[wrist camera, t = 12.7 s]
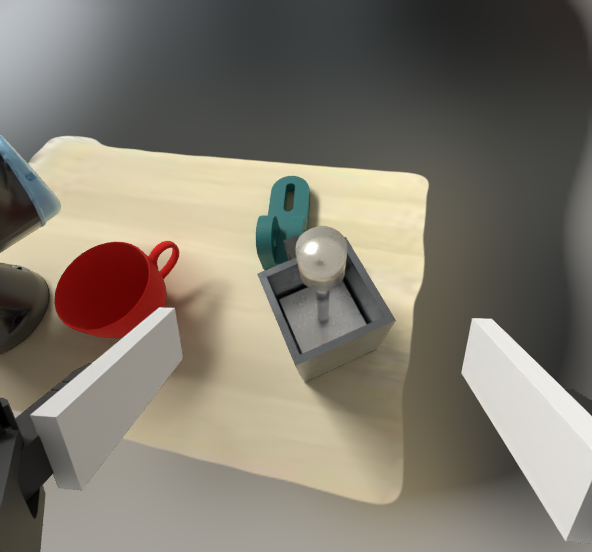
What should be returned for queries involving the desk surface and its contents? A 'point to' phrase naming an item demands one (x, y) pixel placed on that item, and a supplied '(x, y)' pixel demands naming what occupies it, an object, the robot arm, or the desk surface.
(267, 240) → the bracket
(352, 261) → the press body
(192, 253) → the desk surface
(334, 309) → the plunger
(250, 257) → the desk surface
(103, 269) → the ceramic cup
